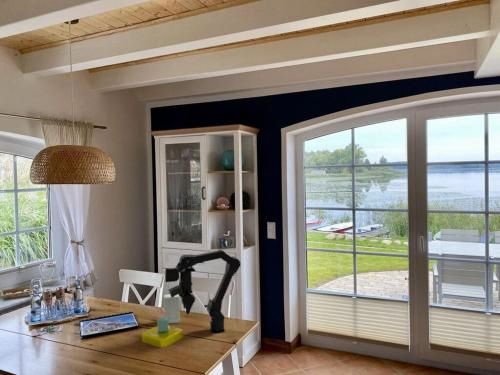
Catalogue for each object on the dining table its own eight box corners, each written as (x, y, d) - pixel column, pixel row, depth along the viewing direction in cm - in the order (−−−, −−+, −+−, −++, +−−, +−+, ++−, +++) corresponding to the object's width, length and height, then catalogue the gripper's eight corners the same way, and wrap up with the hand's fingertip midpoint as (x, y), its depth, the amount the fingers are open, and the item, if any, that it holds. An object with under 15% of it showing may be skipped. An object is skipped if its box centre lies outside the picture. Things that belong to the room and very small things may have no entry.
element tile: (140, 342, 184) (140, 332, 184) (162, 331, 197) (162, 322, 197) (162, 349, 176) (162, 339, 176) (184, 337, 189) (184, 328, 189)
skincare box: (179, 319, 213) (179, 292, 212) (180, 323, 207) (179, 296, 206) (164, 320, 211) (164, 294, 211) (164, 324, 205) (163, 297, 205)
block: (167, 327, 190) (167, 317, 190) (168, 330, 186) (168, 320, 186) (157, 328, 189) (157, 318, 189) (158, 332, 184) (158, 322, 184)
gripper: (167, 277, 197) (168, 306, 197) (171, 286, 179) (172, 319, 180) (189, 275, 201) (189, 304, 201) (195, 284, 183) (195, 316, 183)
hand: (186, 311), depth 191 cm, fingers open, 9 cm apart
